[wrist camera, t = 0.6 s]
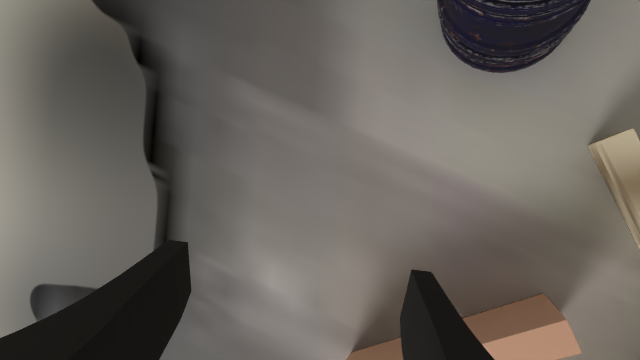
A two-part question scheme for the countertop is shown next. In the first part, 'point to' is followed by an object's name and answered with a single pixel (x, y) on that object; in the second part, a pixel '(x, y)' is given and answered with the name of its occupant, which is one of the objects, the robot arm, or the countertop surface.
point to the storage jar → (506, 30)
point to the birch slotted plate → (622, 174)
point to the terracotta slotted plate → (506, 334)
